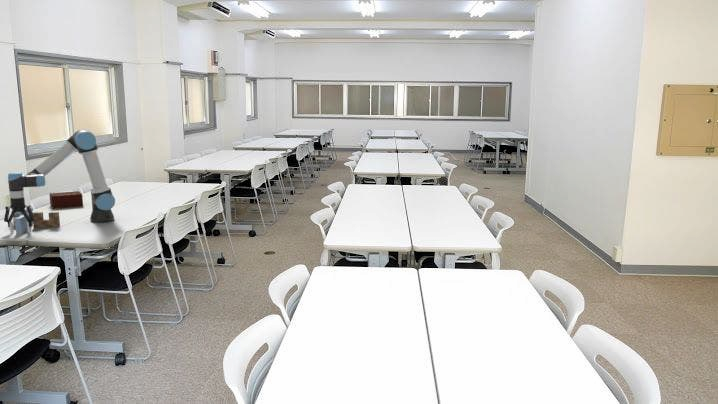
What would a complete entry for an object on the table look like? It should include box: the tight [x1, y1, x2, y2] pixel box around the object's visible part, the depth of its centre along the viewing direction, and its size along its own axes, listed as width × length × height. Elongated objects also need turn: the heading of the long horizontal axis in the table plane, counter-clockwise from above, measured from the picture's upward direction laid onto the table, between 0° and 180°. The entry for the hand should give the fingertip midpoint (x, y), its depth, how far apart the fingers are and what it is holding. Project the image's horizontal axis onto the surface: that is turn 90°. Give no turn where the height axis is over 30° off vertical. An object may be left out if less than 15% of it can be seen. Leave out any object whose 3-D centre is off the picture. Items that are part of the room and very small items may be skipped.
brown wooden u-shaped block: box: [32, 211, 61, 229], centre depth 346 cm, size 15×3×10 cm, turn 99°
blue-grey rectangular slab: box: [14, 214, 30, 235], centre depth 334 cm, size 14×3×10 cm, turn 9°
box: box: [49, 190, 84, 210], centre depth 412 cm, size 21×16×10 cm
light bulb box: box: [12, 207, 34, 226], centre depth 352 cm, size 11×7×11 cm, turn 168°
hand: (20, 232), depth 330 cm, fingers open, 9 cm apart
